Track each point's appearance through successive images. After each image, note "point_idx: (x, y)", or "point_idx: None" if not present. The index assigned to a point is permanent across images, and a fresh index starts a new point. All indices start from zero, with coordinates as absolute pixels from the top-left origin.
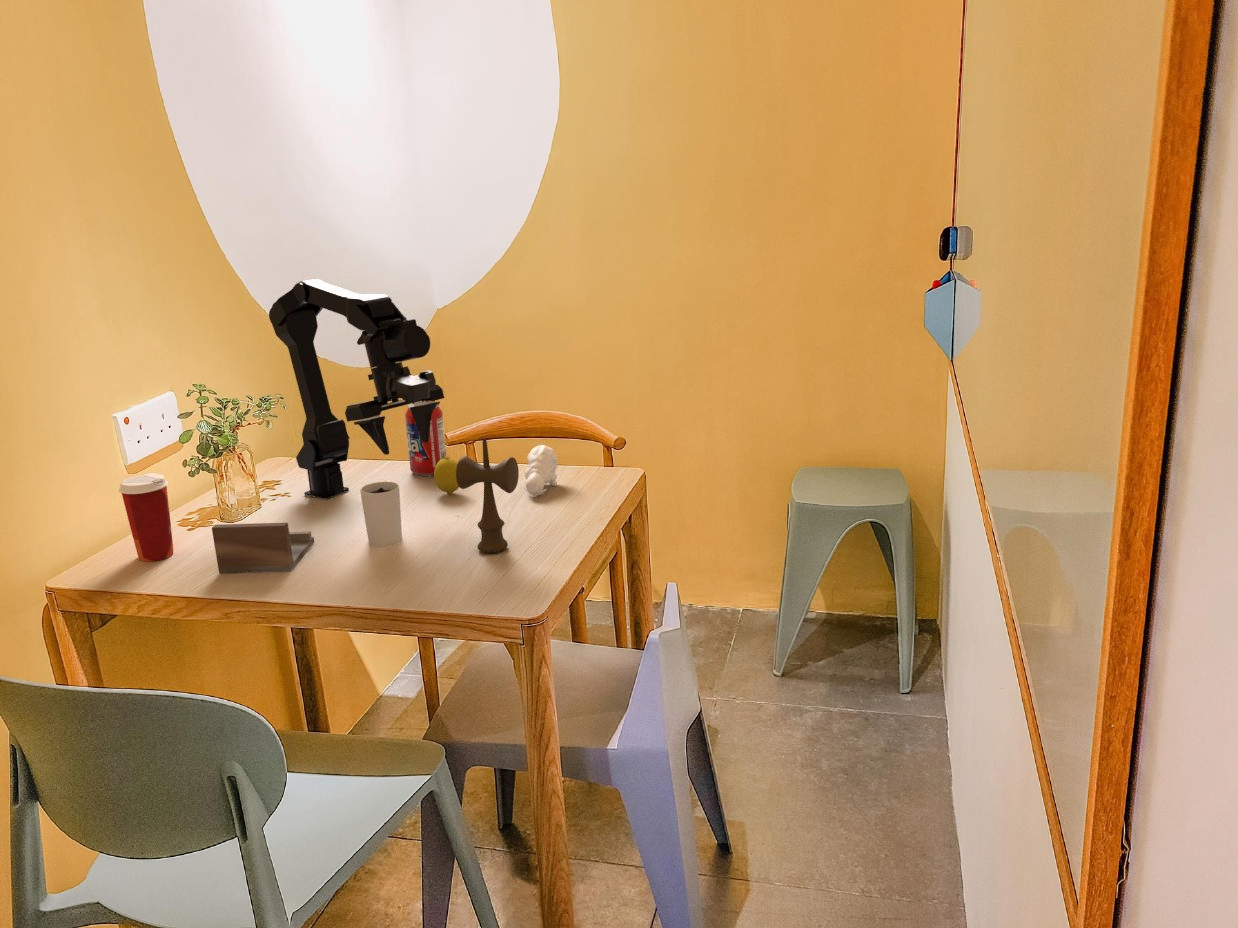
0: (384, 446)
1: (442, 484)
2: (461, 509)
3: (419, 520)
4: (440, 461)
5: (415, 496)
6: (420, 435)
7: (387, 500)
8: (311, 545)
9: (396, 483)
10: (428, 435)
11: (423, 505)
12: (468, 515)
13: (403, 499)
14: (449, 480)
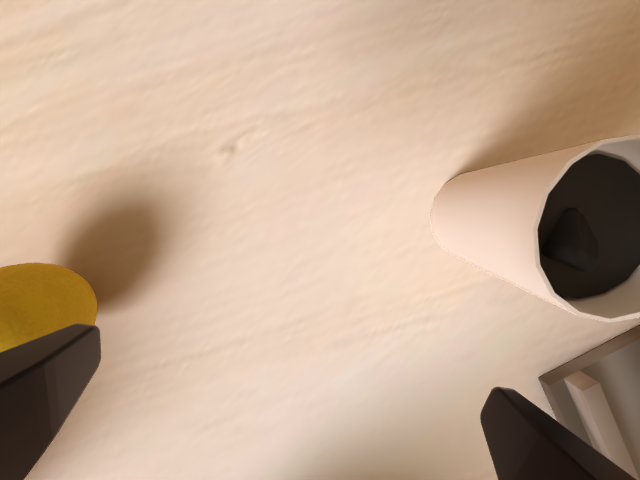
0: (583, 444)
1: (90, 302)
2: (174, 174)
3: (307, 233)
4: None
5: (142, 381)
6: (51, 435)
7: (630, 154)
8: (561, 366)
9: (546, 193)
10: (21, 349)
11: (197, 307)
12: (209, 119)
13: (181, 395)
14: (66, 282)
